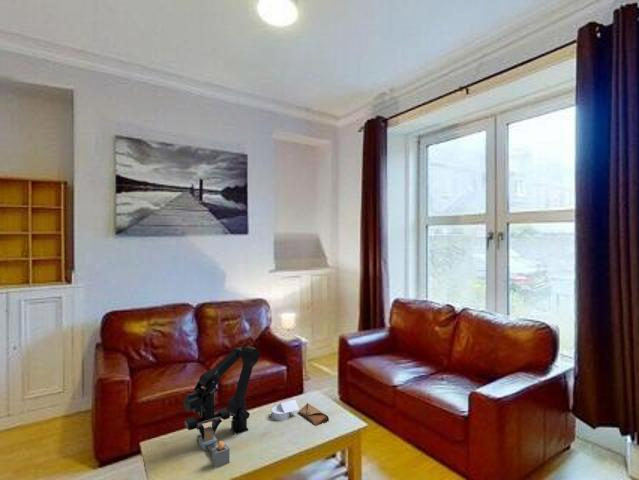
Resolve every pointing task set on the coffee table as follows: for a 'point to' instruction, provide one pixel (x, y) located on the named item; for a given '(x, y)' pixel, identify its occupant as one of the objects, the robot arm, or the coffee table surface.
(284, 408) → the wedge on round base
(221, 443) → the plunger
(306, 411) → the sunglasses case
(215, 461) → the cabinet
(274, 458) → the coffee table surface
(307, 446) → the coffee table surface
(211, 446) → the rail
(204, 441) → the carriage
